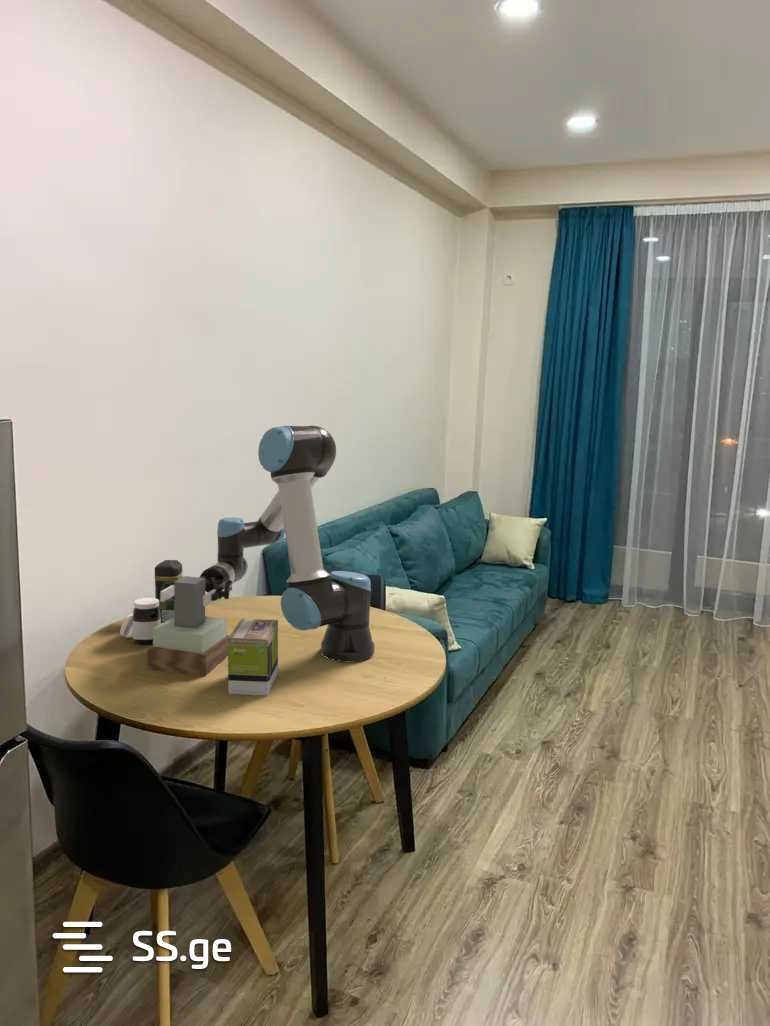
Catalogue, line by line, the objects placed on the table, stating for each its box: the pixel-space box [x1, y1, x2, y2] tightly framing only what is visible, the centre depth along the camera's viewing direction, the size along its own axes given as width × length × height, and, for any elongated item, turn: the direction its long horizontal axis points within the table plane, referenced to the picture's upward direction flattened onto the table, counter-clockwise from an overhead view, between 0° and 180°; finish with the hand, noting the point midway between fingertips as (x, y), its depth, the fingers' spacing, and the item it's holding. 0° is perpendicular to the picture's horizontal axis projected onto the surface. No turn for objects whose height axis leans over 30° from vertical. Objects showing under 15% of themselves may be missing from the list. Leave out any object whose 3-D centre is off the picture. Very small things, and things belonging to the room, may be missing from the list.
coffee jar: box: [154, 559, 183, 624], centre depth 235 cm, size 10×8×19 cm
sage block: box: [152, 615, 228, 653], centre depth 202 cm, size 14×14×5 cm
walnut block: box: [147, 635, 230, 677], centre depth 202 cm, size 16×16×6 cm
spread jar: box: [119, 597, 162, 645], centre depth 217 cm, size 12×11×12 cm
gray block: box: [174, 575, 206, 628], centre depth 200 cm, size 6×6×12 cm
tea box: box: [227, 618, 279, 696], centre depth 189 cm, size 15×10×15 cm
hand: (183, 598), depth 196 cm, fingers open, 11 cm apart
